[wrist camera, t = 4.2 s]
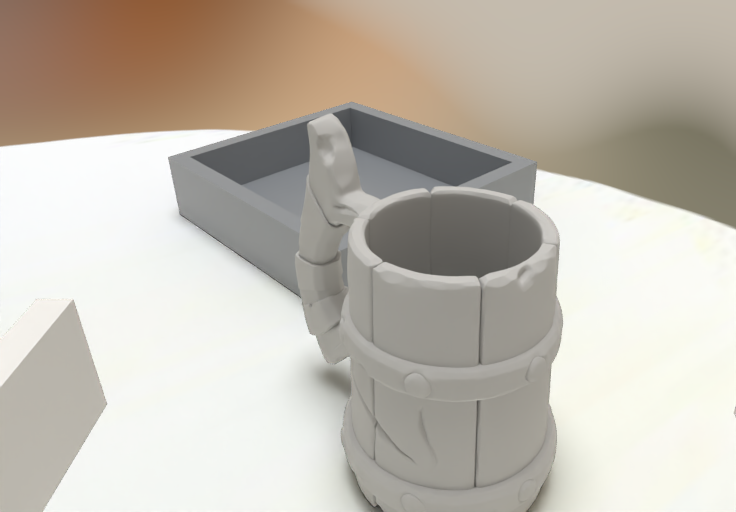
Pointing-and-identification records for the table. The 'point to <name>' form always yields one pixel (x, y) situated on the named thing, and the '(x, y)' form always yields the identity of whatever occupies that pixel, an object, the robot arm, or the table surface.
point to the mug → (433, 333)
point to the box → (291, 166)
